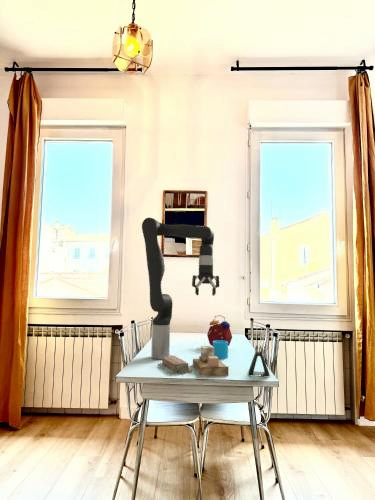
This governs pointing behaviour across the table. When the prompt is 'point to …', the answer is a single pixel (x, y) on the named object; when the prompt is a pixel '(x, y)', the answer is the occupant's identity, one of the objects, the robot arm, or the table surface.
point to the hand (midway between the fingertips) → (205, 295)
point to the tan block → (206, 353)
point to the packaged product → (174, 365)
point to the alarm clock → (219, 331)
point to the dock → (210, 368)
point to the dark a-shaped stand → (251, 369)
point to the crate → (213, 361)
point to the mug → (220, 349)
